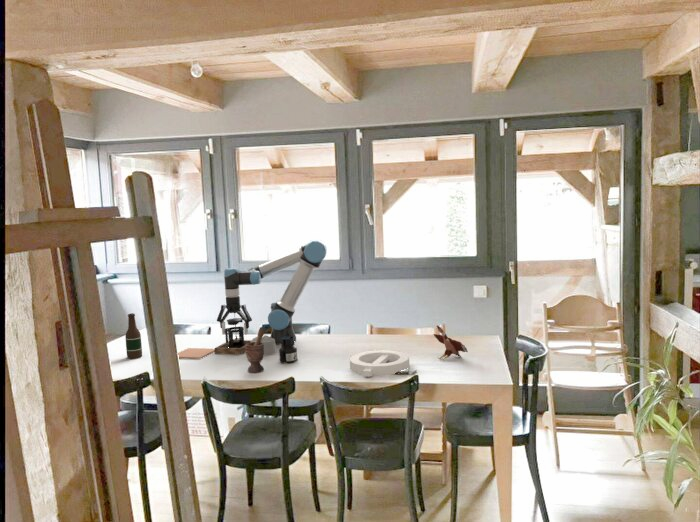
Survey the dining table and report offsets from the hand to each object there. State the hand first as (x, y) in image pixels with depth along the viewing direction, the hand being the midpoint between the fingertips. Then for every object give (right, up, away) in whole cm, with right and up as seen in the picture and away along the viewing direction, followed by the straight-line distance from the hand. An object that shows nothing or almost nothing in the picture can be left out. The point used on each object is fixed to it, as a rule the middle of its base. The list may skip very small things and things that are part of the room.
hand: (235, 334), depth 313 cm
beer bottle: (-53, -12, -6) cm, 55 cm away
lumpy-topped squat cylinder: (+17, -9, -9) cm, 22 cm away
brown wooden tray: (0, -9, +1) cm, 9 cm away
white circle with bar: (+78, -10, -46) cm, 91 cm away
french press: (0, -9, +1) cm, 9 cm away
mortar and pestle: (+19, -12, -41) cm, 47 cm away
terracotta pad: (-21, -10, -6) cm, 24 cm away
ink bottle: (+33, -10, -29) cm, 45 cm away
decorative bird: (+112, -7, -38) cm, 119 cm away
